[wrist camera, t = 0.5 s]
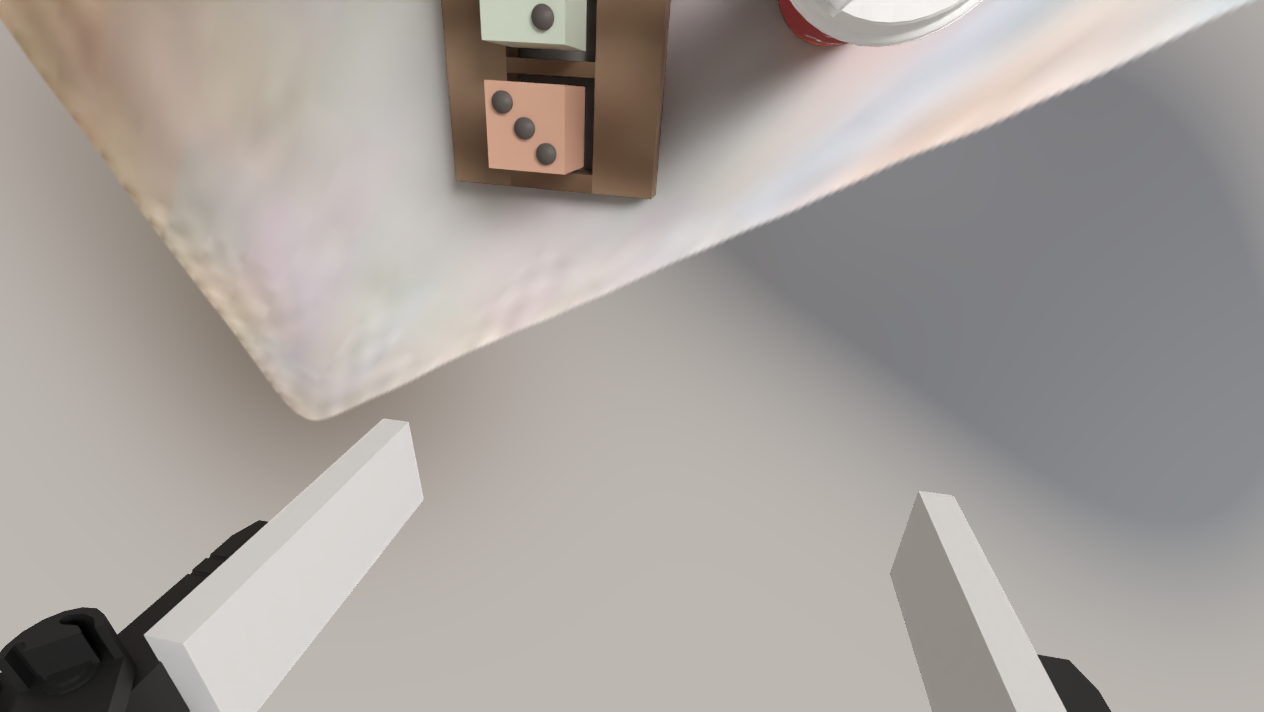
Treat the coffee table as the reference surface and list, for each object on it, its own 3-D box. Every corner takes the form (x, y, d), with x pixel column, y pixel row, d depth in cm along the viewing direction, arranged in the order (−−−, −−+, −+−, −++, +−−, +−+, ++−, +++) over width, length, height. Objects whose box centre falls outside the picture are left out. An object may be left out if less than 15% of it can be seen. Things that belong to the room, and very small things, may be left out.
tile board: (441, -222, 28) (420, -244, 26) (688, -226, 26) (684, -250, 24) (470, 177, 37) (456, 180, 35) (655, 194, 35) (651, 199, 33)
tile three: (513, 82, 31) (482, 79, 28) (585, 87, 31) (563, 84, 27) (515, 160, 33) (487, 168, 29) (583, 166, 33) (563, 175, 29)
